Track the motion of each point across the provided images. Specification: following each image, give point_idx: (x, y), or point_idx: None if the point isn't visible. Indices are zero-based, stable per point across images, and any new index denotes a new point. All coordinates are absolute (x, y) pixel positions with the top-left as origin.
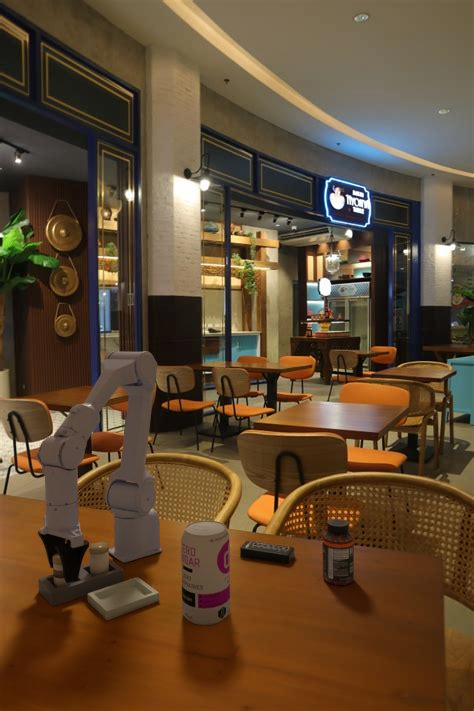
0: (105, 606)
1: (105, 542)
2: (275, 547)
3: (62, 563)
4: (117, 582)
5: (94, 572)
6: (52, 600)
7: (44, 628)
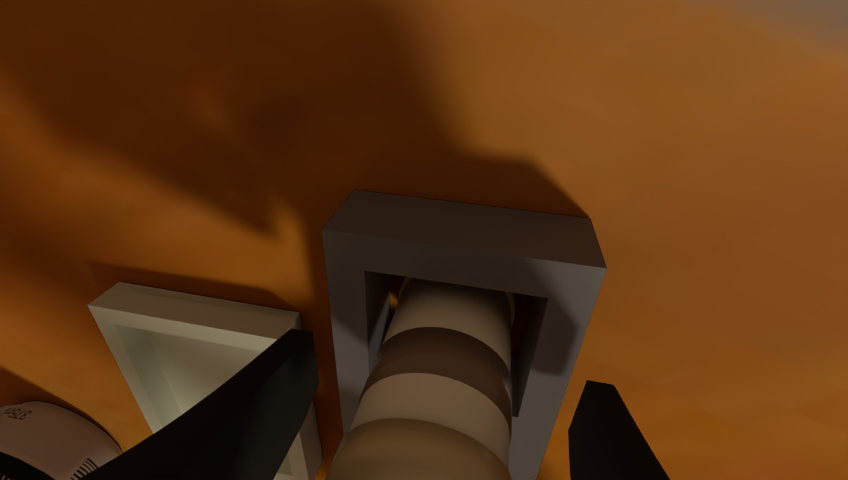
0: (129, 321)
1: None
2: None
3: (182, 442)
4: None
5: None
6: (342, 206)
7: (142, 52)
